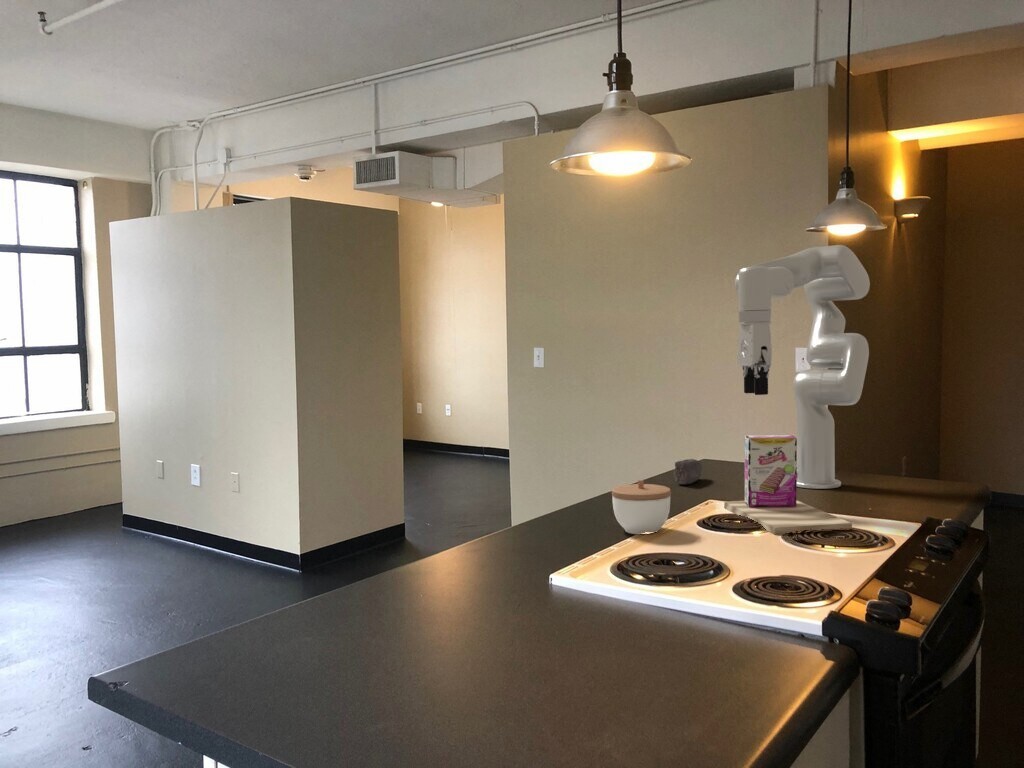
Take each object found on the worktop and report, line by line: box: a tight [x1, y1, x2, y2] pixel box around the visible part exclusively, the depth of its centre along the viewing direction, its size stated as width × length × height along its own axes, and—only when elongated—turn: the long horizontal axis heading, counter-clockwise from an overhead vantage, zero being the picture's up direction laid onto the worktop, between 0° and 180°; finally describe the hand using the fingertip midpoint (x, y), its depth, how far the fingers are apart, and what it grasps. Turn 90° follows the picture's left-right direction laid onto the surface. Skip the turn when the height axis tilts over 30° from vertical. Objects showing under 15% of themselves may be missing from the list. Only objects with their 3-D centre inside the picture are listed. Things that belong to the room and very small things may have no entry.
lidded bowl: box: [611, 479, 672, 535], centre depth 178 cm, size 13×13×11 cm
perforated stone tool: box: [673, 458, 703, 486], centre depth 235 cm, size 15×5×7 cm, turn 143°
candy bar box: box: [744, 434, 798, 507], centre depth 193 cm, size 11×5×16 cm, turn 86°
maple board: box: [723, 499, 853, 536], centre depth 187 cm, size 28×17×2 cm, turn 7°
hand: (755, 393), depth 200 cm, fingers open, 5 cm apart
